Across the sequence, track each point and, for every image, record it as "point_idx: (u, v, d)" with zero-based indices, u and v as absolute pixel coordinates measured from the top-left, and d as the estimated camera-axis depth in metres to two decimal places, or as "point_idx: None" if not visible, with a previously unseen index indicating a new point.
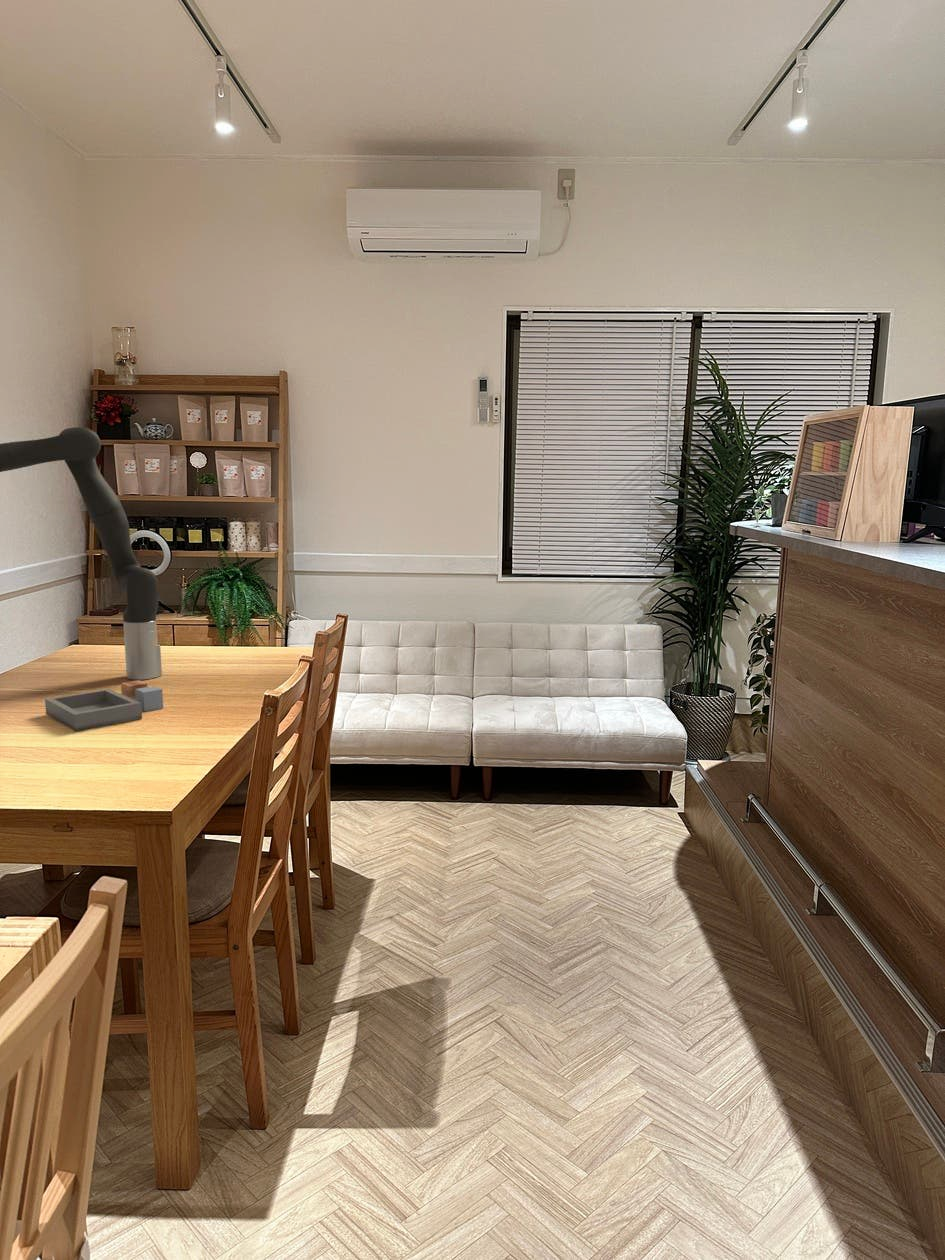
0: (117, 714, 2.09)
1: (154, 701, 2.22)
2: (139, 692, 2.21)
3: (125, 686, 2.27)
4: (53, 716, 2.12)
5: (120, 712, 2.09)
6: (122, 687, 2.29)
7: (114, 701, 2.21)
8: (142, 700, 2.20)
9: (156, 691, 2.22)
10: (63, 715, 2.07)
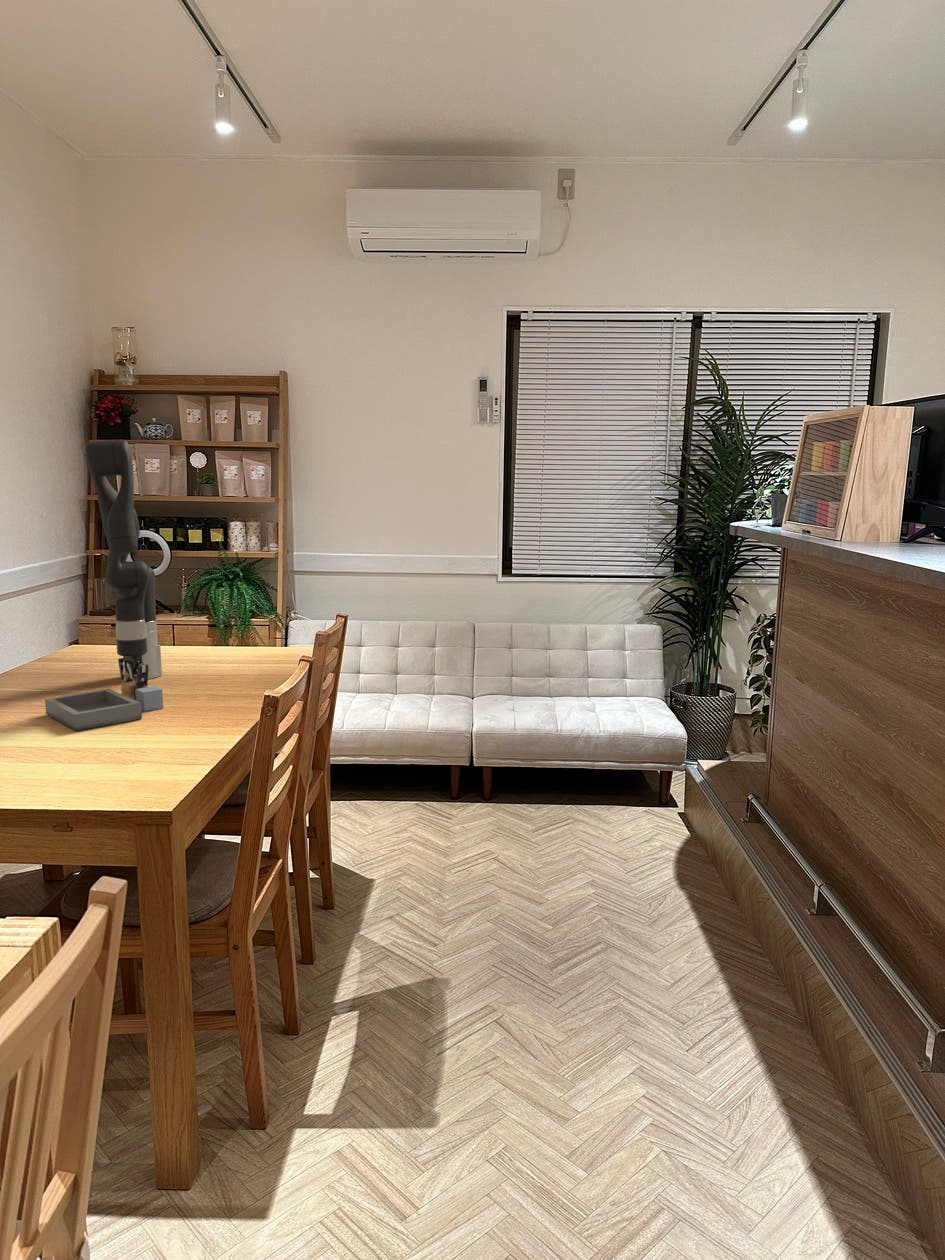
0: (117, 714, 2.09)
1: (154, 701, 2.22)
2: (139, 692, 2.21)
3: (125, 686, 2.27)
4: (53, 716, 2.12)
5: (120, 712, 2.09)
6: (122, 687, 2.29)
7: (114, 701, 2.21)
8: (142, 700, 2.20)
9: (156, 691, 2.22)
10: (63, 715, 2.07)
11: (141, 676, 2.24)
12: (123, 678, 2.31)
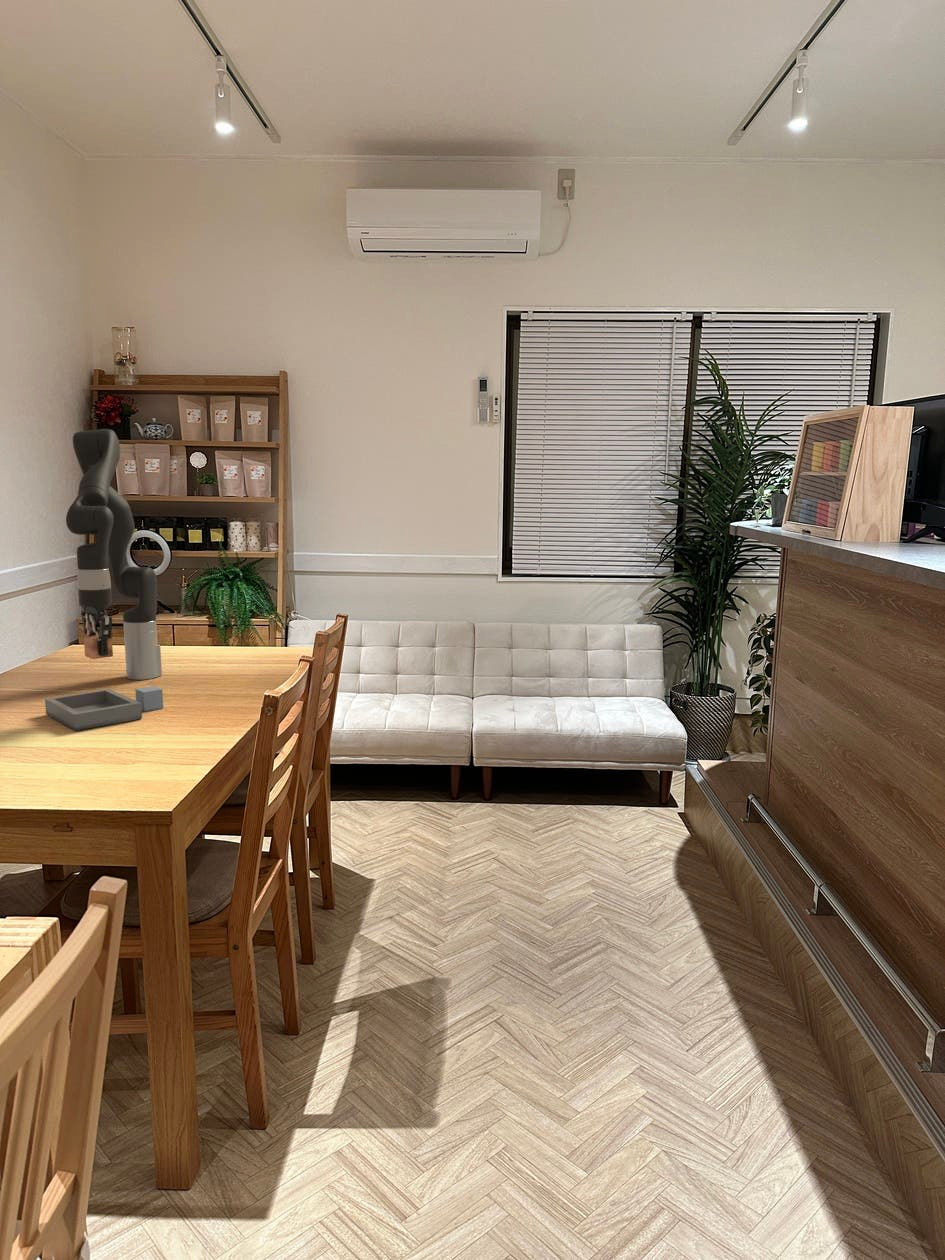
0: (117, 714, 2.09)
1: (154, 701, 2.22)
2: (139, 692, 2.21)
3: (88, 639, 2.13)
4: (53, 716, 2.12)
5: (120, 712, 2.09)
6: (85, 641, 2.15)
7: (114, 701, 2.21)
8: (142, 700, 2.20)
9: (156, 691, 2.22)
10: (63, 715, 2.07)
11: (104, 628, 2.10)
12: (86, 632, 2.17)
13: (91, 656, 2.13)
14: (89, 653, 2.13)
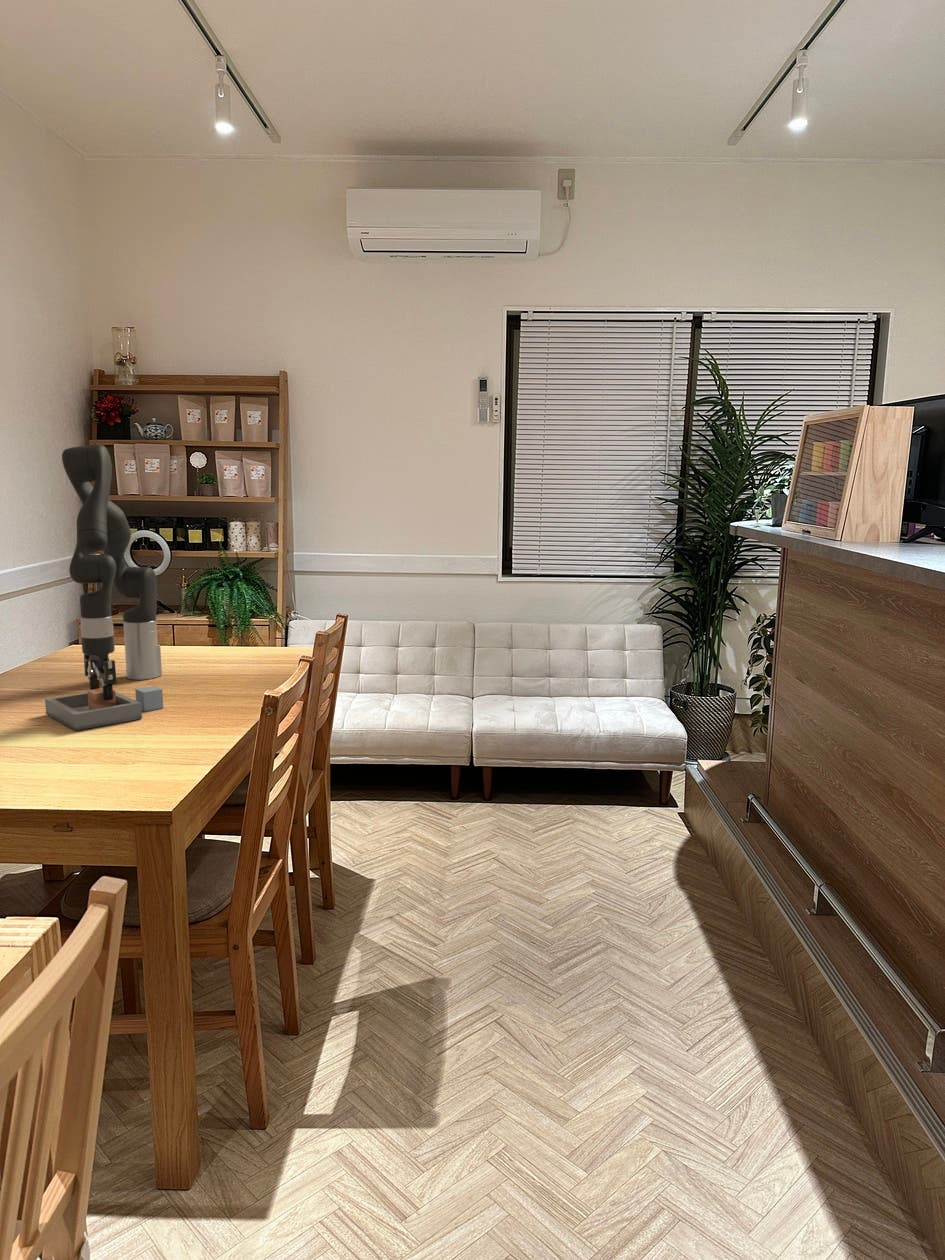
0: (117, 714, 2.09)
1: (154, 701, 2.22)
2: (139, 692, 2.21)
3: (91, 694, 2.15)
4: (53, 716, 2.12)
5: (120, 712, 2.09)
6: (88, 695, 2.17)
7: None
8: (142, 700, 2.20)
9: (156, 691, 2.22)
10: (63, 715, 2.07)
11: (108, 672, 2.11)
12: (87, 675, 2.20)
13: None
14: (93, 706, 2.16)
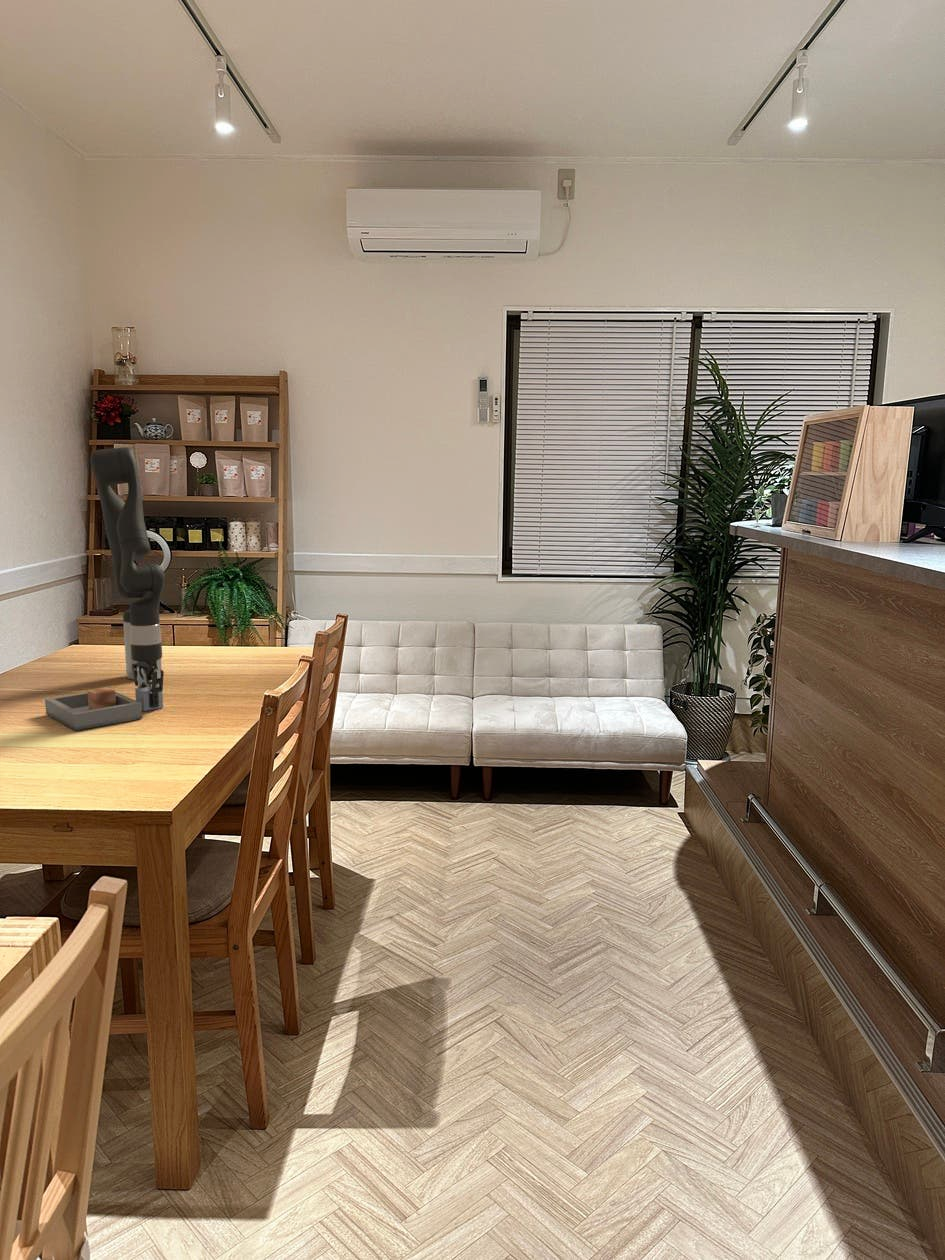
0: (117, 714, 2.09)
1: None
2: (139, 692, 2.21)
3: (91, 694, 2.15)
4: (53, 716, 2.12)
5: (120, 712, 2.09)
6: (88, 695, 2.17)
7: None
8: (142, 700, 2.20)
9: None
10: (63, 715, 2.07)
11: (156, 682, 2.18)
12: (137, 684, 2.25)
13: None
14: (93, 706, 2.16)
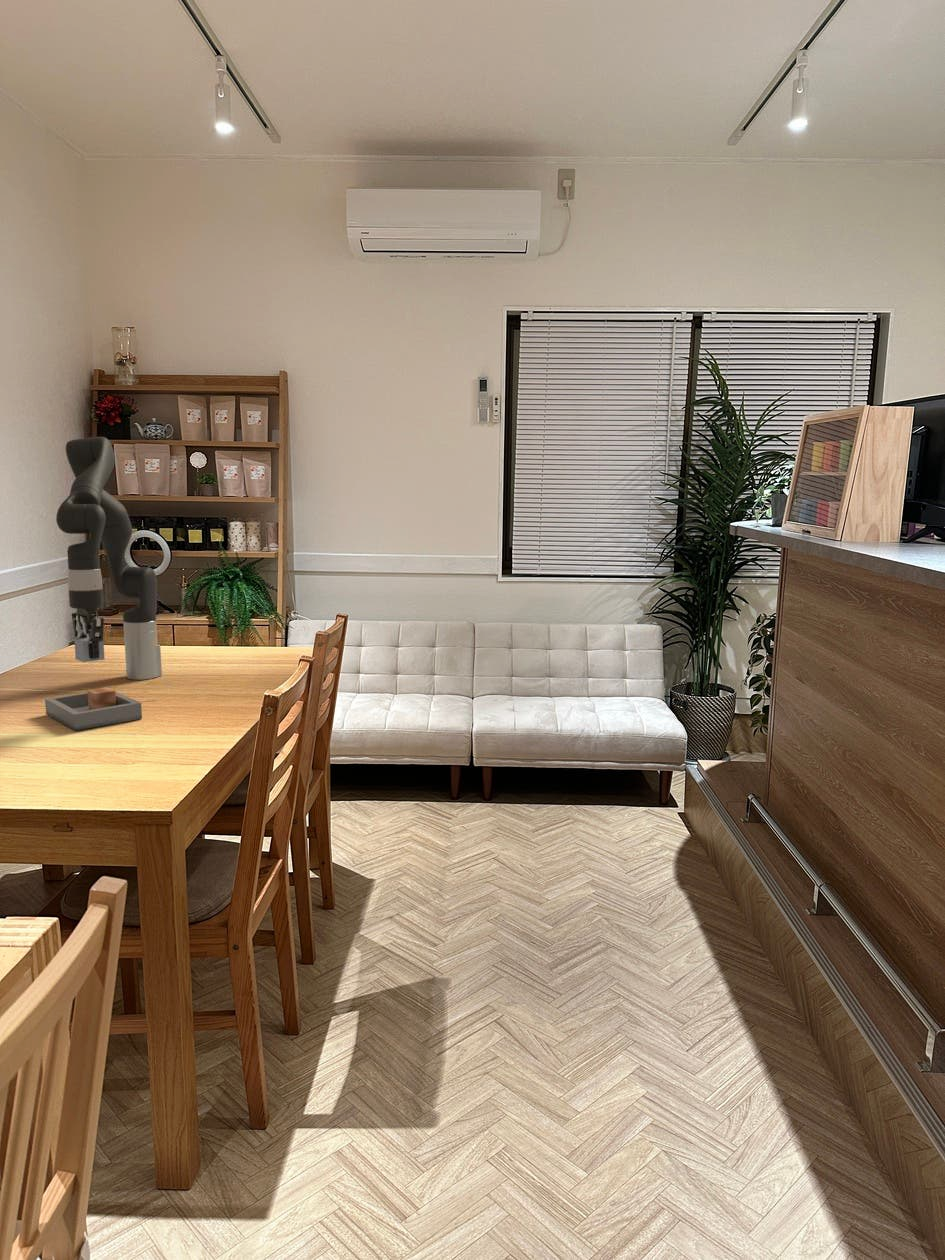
0: (117, 714, 2.09)
1: None
2: (78, 642, 2.07)
3: (91, 694, 2.15)
4: (53, 716, 2.12)
5: (120, 712, 2.09)
6: (88, 695, 2.17)
7: None
8: (81, 650, 2.06)
9: None
10: (63, 715, 2.07)
11: (95, 630, 2.03)
12: (77, 635, 2.10)
13: None
14: (93, 706, 2.16)
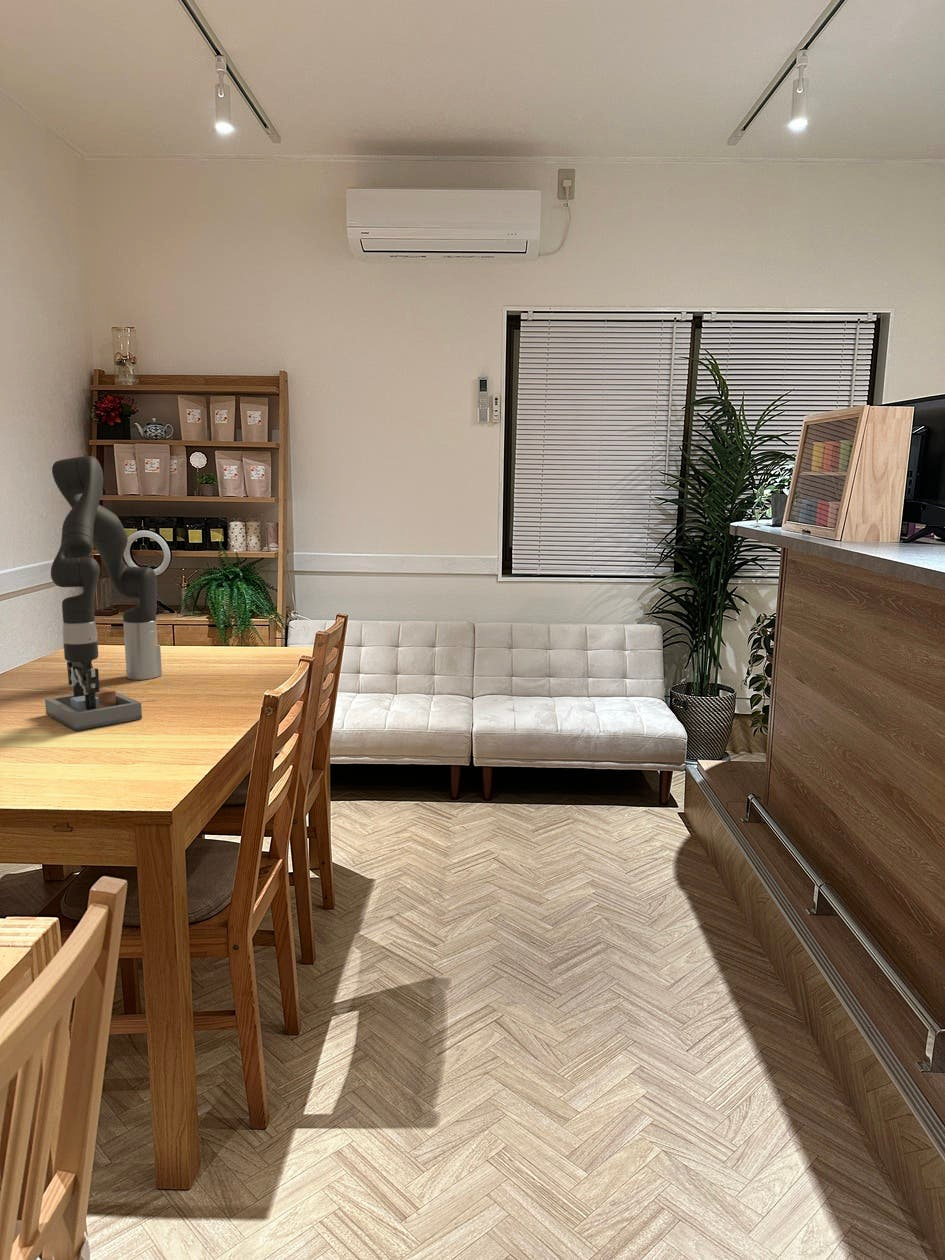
0: (117, 714, 2.09)
1: None
2: (73, 701, 2.08)
3: None
4: (53, 716, 2.12)
5: (120, 712, 2.09)
6: None
7: None
8: (77, 710, 2.07)
9: None
10: (63, 715, 2.07)
11: (91, 681, 2.04)
12: (71, 683, 2.12)
13: None
14: None
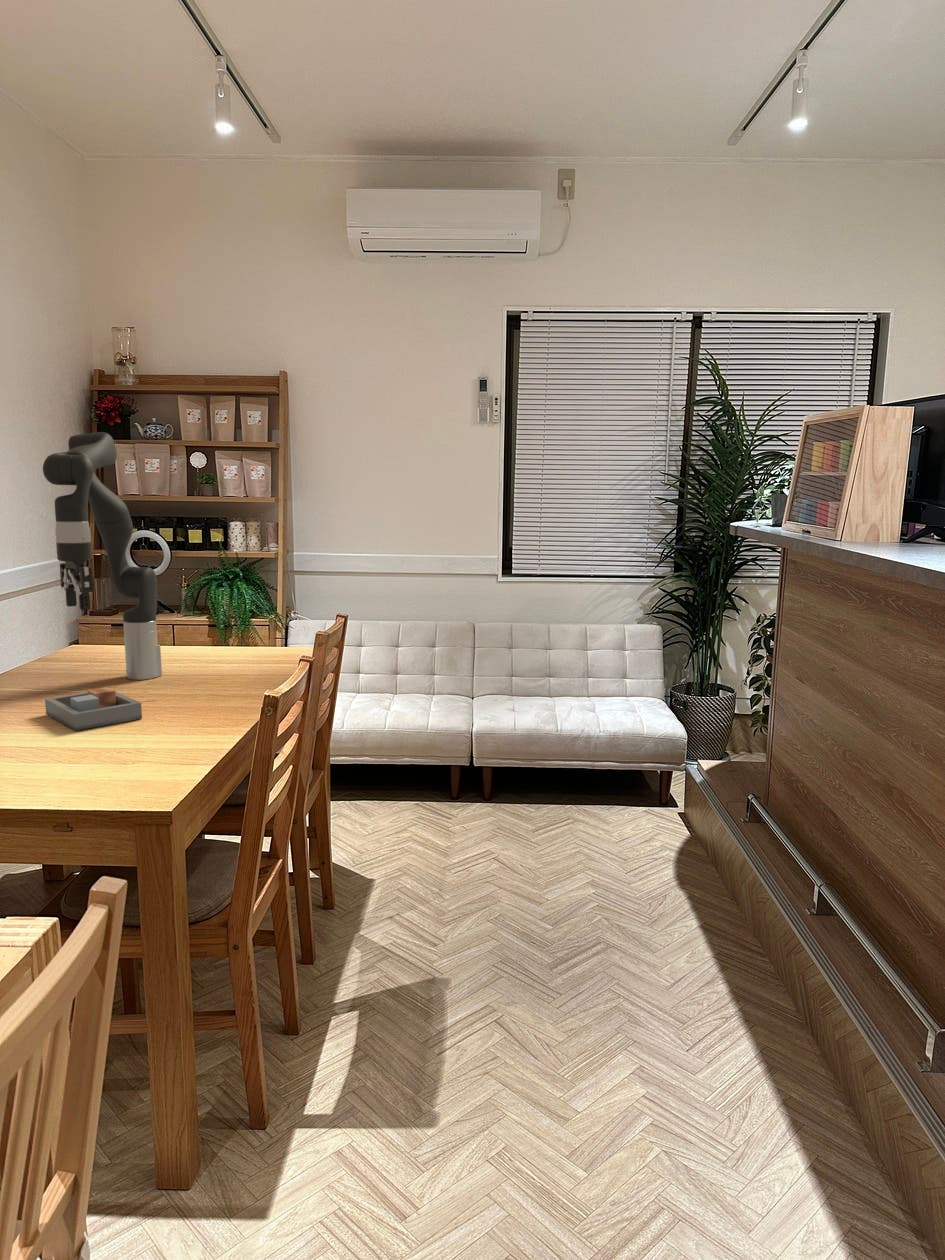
0: (117, 714, 2.09)
1: None
2: (73, 701, 2.08)
3: (91, 694, 2.15)
4: (53, 716, 2.12)
5: (120, 712, 2.09)
6: None
7: None
8: (77, 710, 2.07)
9: (92, 700, 2.09)
10: (63, 715, 2.07)
11: (84, 579, 1.99)
12: (63, 586, 2.08)
13: None
14: None
